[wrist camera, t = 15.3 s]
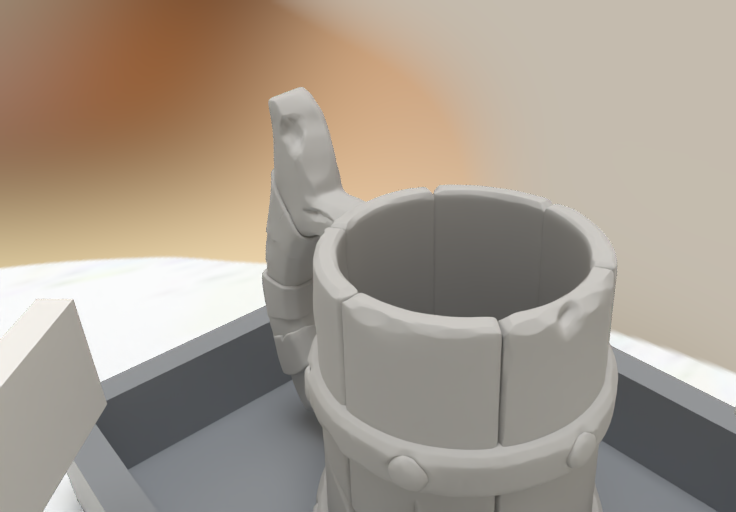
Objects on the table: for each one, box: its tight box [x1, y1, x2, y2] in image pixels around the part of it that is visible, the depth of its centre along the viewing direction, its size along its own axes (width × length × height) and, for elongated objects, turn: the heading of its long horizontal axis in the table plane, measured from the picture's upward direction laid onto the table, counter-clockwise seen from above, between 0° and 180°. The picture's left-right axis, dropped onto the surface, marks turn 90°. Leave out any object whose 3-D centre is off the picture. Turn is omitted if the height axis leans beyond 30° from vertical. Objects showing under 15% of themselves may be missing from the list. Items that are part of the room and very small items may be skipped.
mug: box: [262, 87, 618, 512], centre depth 18 cm, size 8×12×12 cm, turn 40°
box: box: [67, 306, 736, 512], centre depth 20 cm, size 17×15×4 cm
